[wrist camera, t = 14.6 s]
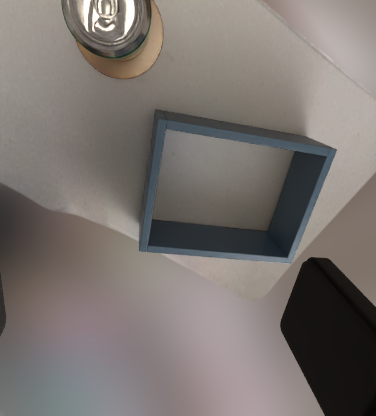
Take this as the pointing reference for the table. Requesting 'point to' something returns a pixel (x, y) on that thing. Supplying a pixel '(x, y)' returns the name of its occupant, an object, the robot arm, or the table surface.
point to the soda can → (110, 26)
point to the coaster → (139, 63)
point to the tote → (231, 237)
